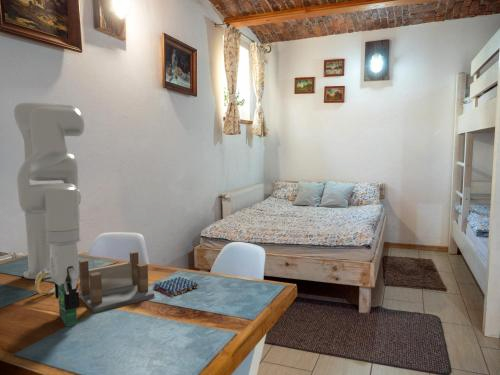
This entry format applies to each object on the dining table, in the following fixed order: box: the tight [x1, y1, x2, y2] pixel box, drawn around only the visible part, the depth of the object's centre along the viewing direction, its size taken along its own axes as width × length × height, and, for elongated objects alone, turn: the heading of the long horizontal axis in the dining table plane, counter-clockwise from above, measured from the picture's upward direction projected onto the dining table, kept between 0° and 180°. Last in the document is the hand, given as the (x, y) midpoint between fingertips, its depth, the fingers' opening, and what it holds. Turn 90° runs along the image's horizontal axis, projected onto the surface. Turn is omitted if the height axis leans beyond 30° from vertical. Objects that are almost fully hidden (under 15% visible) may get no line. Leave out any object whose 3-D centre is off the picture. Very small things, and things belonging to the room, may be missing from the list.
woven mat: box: [152, 276, 199, 298], centre depth 118 cm, size 10×11×2 cm
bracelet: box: [34, 267, 55, 295], centre depth 114 cm, size 7×3×8 cm, turn 141°
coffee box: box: [58, 272, 78, 327], centre depth 96 cm, size 8×3×13 cm, turn 37°
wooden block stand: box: [79, 250, 155, 314], centre depth 111 cm, size 14×17×11 cm
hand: (67, 302), depth 96 cm, fingers open, 9 cm apart
